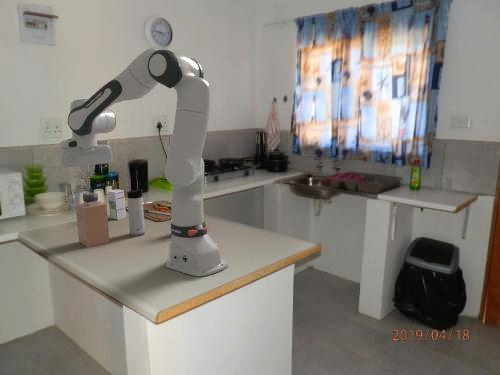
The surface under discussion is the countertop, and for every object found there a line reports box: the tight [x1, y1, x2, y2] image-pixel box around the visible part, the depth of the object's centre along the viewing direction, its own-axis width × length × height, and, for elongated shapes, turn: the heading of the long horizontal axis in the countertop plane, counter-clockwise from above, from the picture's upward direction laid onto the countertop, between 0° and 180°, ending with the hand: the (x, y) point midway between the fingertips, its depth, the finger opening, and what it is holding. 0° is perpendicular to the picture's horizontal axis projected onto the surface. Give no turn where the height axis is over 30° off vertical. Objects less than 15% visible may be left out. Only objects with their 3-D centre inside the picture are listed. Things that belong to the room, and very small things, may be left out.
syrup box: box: [107, 188, 127, 221], centre depth 195 cm, size 6×6×14 cm
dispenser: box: [75, 199, 111, 248], centre depth 157 cm, size 9×9×18 cm
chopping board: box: [125, 200, 172, 223], centre depth 210 cm, size 45×27×3 cm, turn 44°
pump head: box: [82, 192, 99, 202], centre depth 158 cm, size 9×6×12 cm, turn 44°
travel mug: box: [126, 189, 146, 237], centre depth 167 cm, size 6×7×20 cm
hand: (88, 176), depth 154 cm, fingers closed
